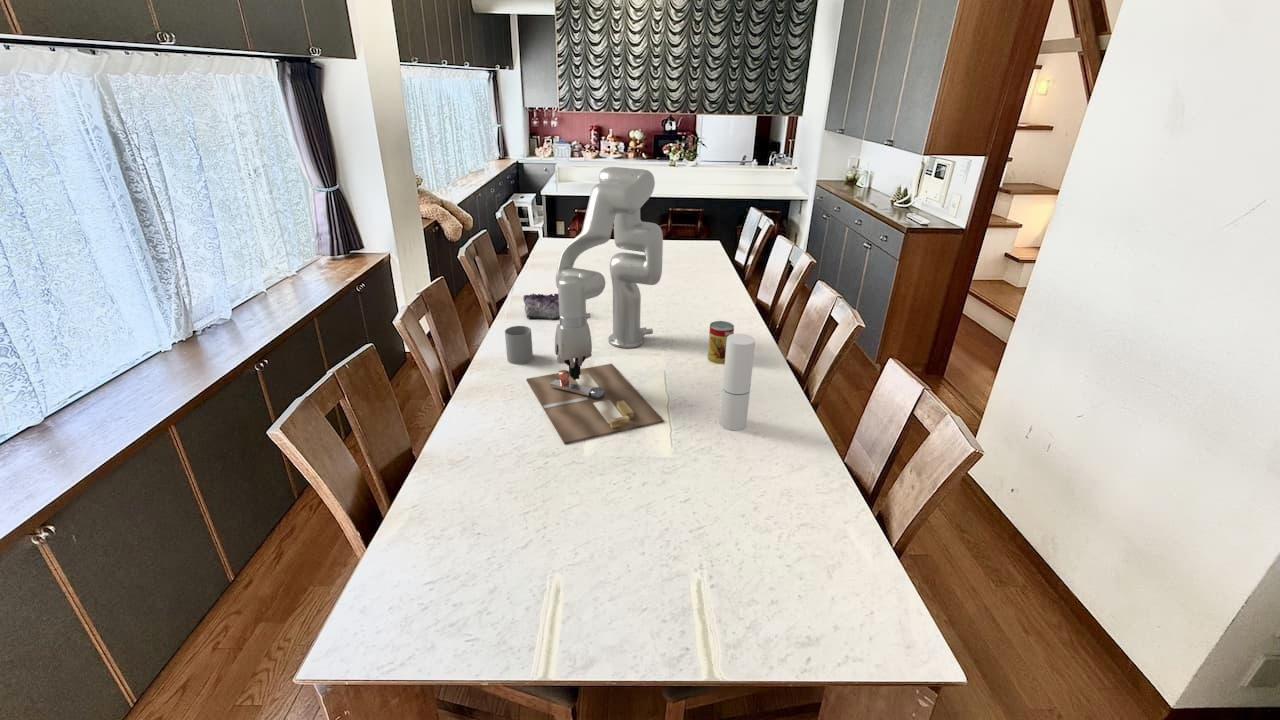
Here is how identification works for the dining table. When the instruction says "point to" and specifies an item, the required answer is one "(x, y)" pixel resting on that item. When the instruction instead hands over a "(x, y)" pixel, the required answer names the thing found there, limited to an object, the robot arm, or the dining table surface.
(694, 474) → the dining table surface
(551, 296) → the geode
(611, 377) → the board
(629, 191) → the robot arm
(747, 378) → the cylindrical container
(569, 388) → the arm
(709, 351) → the canned food
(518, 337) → the cup
